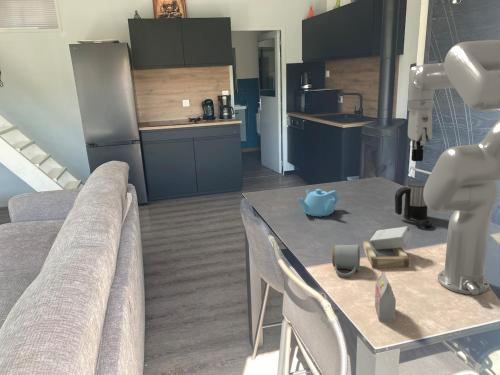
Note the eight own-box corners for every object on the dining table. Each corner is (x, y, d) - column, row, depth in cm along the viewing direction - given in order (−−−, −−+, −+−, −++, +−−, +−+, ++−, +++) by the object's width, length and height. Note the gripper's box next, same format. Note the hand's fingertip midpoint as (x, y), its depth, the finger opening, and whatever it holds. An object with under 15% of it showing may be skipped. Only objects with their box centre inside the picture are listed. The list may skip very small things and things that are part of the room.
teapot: (332, 220, 161) (332, 195, 158) (297, 217, 167) (297, 193, 164) (339, 208, 175) (339, 185, 172) (306, 206, 180) (306, 184, 178)
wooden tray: (408, 267, 118) (409, 258, 117) (372, 267, 119) (372, 259, 118) (395, 248, 132) (396, 240, 131) (362, 248, 132) (363, 240, 132)
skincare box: (374, 250, 131) (407, 248, 122) (368, 239, 130) (401, 237, 121) (382, 239, 135) (414, 236, 125) (376, 229, 134) (408, 225, 124)
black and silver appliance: (413, 212, 164) (415, 178, 160) (447, 222, 151) (450, 186, 147) (390, 219, 158) (391, 184, 154) (423, 231, 144) (425, 193, 140)
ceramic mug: (333, 261, 125) (333, 239, 123) (359, 263, 123) (360, 241, 120) (330, 277, 115) (330, 254, 113) (358, 280, 113) (359, 256, 111)
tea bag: (389, 306, 99) (391, 271, 96) (394, 321, 93) (396, 284, 90) (374, 305, 100) (375, 270, 97) (378, 321, 93) (380, 284, 91)
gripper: (441, 106, 117) (437, 165, 121) (423, 103, 131) (420, 156, 136) (416, 107, 117) (412, 166, 122) (401, 104, 132) (398, 156, 136)
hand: (416, 160), depth 129 cm, fingers closed
